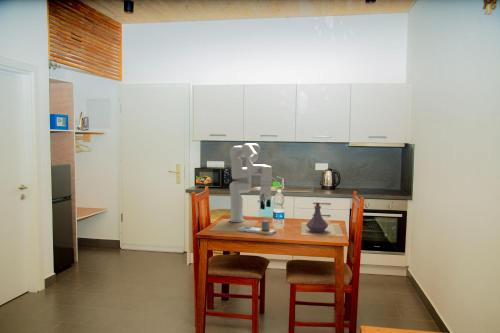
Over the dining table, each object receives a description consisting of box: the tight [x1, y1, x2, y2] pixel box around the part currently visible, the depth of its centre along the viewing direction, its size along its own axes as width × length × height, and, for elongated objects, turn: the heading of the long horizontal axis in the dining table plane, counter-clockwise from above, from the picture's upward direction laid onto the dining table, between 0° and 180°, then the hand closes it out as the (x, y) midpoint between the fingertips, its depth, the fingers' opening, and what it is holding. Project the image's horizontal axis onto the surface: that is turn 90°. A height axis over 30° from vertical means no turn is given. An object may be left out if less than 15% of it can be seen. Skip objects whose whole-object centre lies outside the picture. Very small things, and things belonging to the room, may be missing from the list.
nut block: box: [261, 219, 270, 231], centre depth 275 cm, size 4×4×8 cm
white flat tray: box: [236, 225, 277, 236], centre depth 278 cm, size 9×26×2 cm, turn 64°
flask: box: [305, 202, 329, 233], centre depth 282 cm, size 16×16×20 cm
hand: (265, 208), depth 275 cm, fingers open, 9 cm apart
